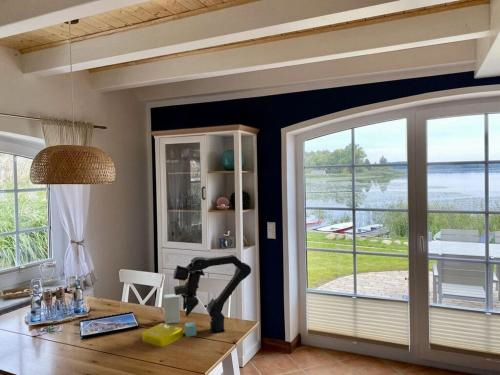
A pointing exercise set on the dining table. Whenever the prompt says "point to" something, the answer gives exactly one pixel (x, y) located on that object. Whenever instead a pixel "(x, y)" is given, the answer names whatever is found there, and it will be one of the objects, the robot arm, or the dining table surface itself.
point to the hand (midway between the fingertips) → (185, 312)
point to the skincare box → (171, 308)
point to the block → (190, 329)
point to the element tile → (162, 334)
